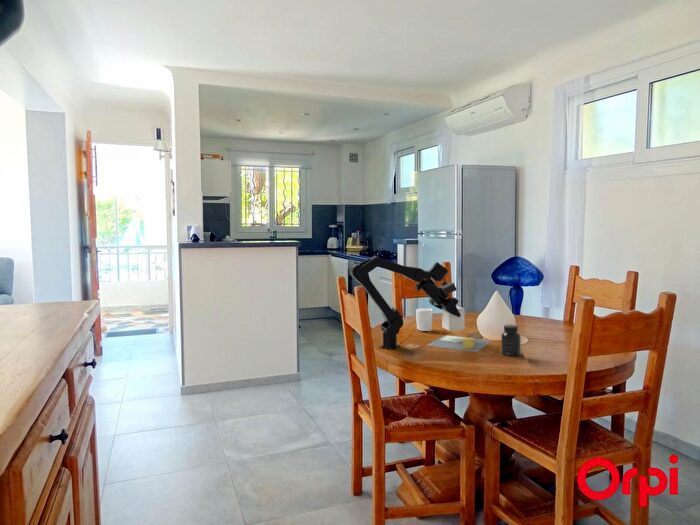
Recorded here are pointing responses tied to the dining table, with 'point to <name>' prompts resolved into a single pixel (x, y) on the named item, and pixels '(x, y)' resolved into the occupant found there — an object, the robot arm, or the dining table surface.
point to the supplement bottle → (510, 341)
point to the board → (460, 343)
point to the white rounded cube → (453, 320)
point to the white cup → (424, 319)
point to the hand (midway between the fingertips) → (456, 314)
